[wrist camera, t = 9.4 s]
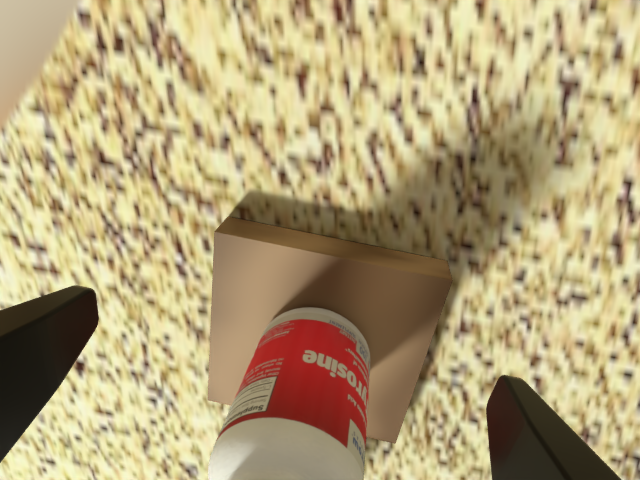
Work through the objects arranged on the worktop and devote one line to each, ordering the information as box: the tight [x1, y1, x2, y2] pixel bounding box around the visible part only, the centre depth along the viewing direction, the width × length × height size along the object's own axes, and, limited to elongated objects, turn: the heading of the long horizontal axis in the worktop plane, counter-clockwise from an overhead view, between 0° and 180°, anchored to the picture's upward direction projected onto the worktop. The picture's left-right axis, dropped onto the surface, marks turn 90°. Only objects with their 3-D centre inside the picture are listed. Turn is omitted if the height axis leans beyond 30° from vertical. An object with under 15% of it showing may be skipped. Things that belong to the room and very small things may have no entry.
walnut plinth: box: [208, 217, 452, 443], centre depth 25 cm, size 12×12×2 cm
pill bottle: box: [208, 307, 370, 480], centre depth 19 cm, size 6×6×11 cm
